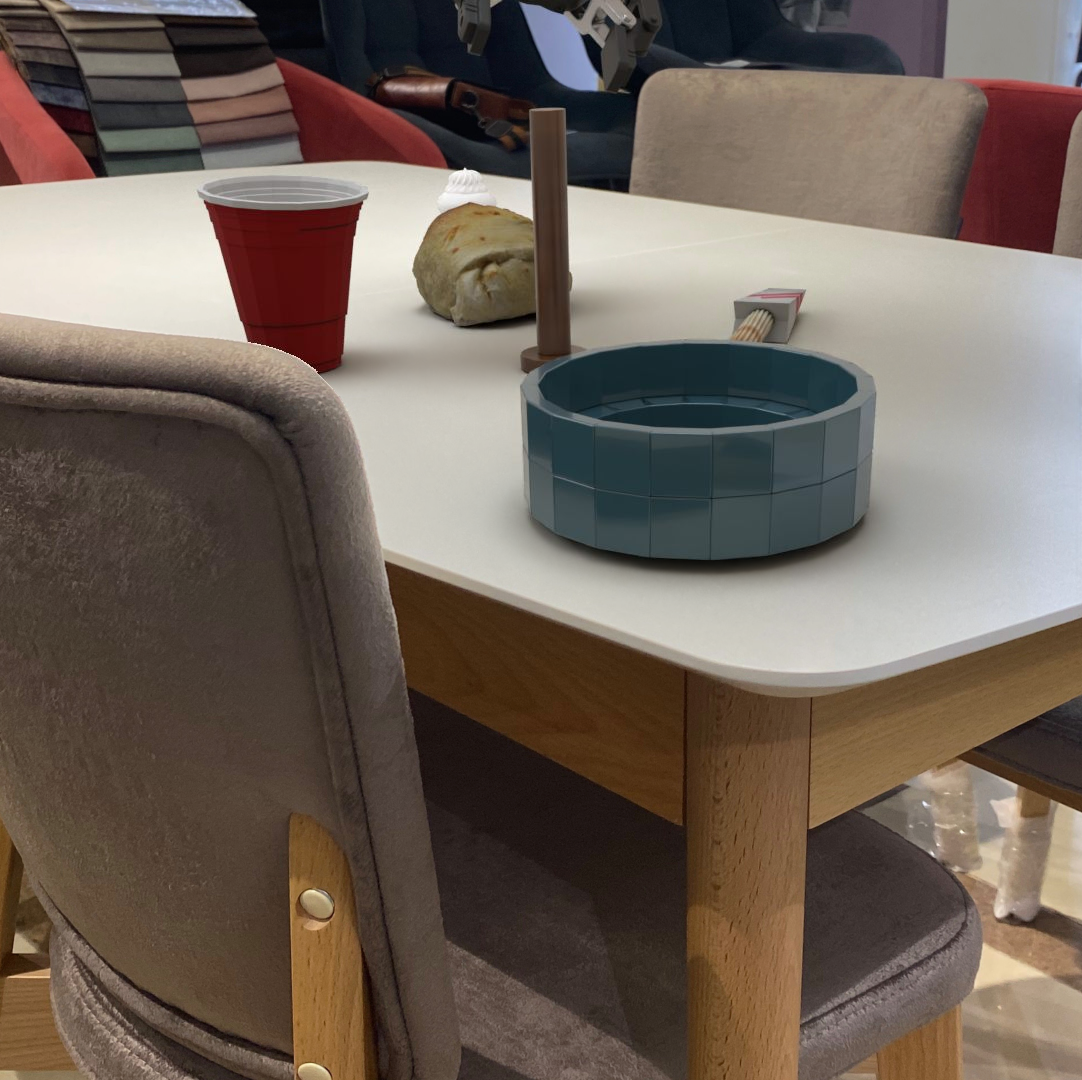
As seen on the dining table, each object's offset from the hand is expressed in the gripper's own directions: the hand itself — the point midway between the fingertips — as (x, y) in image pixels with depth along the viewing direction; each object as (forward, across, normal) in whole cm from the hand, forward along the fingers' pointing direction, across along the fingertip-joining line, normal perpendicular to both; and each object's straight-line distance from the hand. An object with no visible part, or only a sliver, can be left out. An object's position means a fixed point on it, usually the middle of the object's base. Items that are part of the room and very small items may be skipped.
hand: (549, 62), depth 75 cm
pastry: (-5, +6, +28) cm, 29 cm away
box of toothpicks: (+6, +20, +13) cm, 25 cm away
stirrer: (+9, +6, +15) cm, 19 cm away
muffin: (-33, +11, +48) cm, 60 cm away
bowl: (+30, +5, -1) cm, 31 cm away
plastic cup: (+7, -9, +23) cm, 26 cm away
